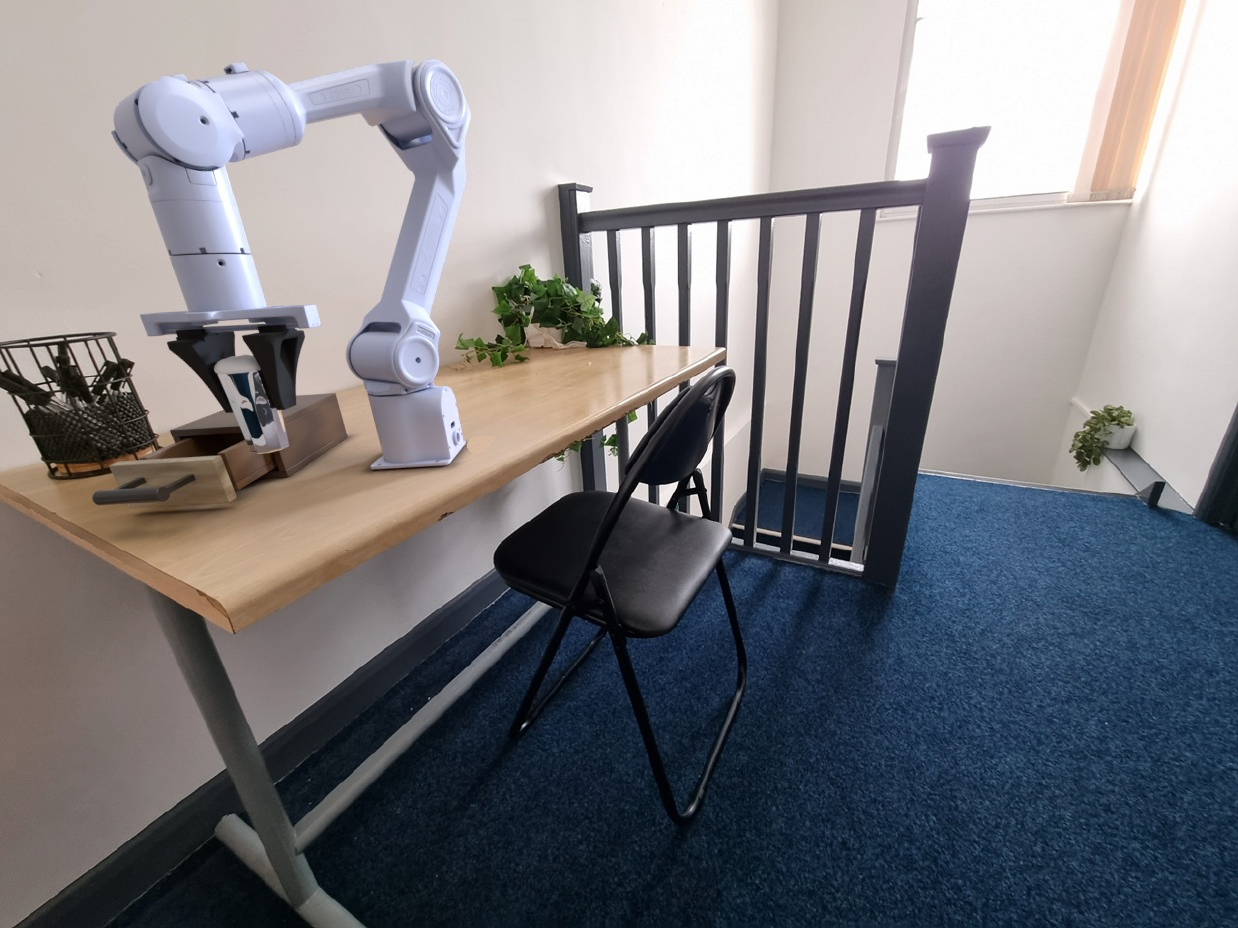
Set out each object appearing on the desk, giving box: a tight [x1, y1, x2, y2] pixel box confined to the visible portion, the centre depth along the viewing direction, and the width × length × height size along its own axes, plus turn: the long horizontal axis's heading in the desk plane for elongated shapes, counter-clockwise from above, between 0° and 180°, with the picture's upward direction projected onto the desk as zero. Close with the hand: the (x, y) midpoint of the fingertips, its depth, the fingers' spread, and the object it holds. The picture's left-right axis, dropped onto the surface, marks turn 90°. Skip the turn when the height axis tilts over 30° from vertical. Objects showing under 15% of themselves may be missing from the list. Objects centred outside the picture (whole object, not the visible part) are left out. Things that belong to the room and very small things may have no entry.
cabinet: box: [169, 392, 348, 480], centre depth 65 cm, size 15×12×7 cm
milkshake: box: [214, 354, 289, 454], centre depth 47 cm, size 4×5×10 cm
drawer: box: [91, 433, 278, 509], centre depth 54 cm, size 18×10×5 cm, turn 1°
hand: (261, 408), depth 48 cm, fingers closed on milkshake, 4 cm apart
